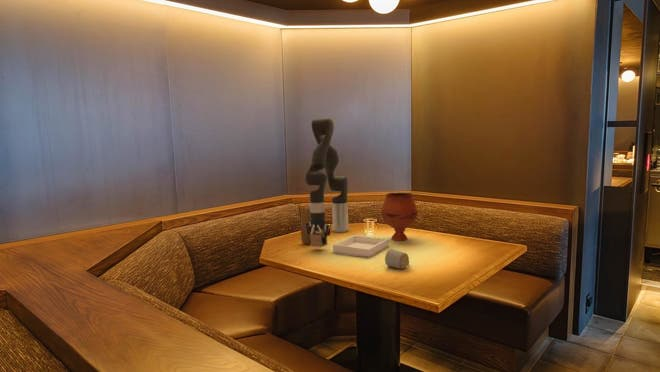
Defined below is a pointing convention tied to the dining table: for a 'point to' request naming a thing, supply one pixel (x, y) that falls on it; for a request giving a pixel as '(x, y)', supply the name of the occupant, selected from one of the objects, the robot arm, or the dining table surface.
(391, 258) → the grey barrel
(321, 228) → the robot arm
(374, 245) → the tray
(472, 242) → the dining table surface
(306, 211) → the block
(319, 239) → the cube
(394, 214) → the goblet
